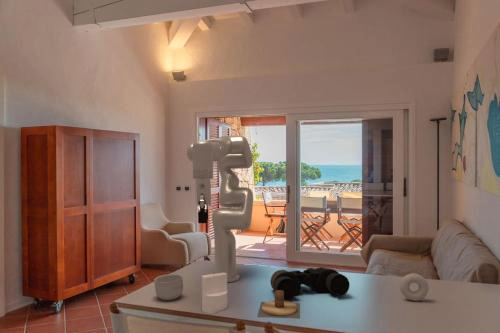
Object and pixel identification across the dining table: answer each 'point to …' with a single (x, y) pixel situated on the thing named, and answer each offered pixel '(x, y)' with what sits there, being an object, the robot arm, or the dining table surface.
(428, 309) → the dining table surface
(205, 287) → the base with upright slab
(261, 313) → the rubber mat
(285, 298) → the binoculars
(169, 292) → the teacup
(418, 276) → the donut
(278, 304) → the oak lid
